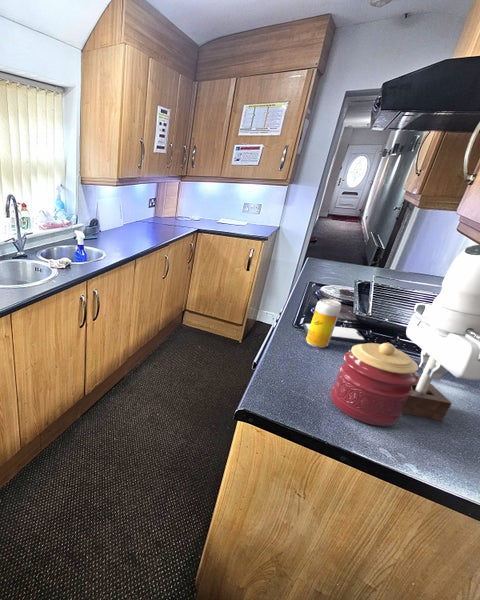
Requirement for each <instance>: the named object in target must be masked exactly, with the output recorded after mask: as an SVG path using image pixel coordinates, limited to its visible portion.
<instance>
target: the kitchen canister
mask: <svg viewBox="0 0 480 600" xmlns="http://www.w3.org/2000/svg"><path fill="white" fill-rule="evenodd" d="M350 350H351V351H349V352H348V351H347V352H346V353H344V355H343V361H344V363H342V364H340V365H339V367H338V373H337V376H336V378H335V380H334V383H333V385H332V386H331V388H330V394H329V395H330V396H329V397H330V401H331V402H332V403H333V405H334V406H335V407H336V408H337V409H338V410H339V411H341V412H342V413H344V414H345V415H346V416H349V417H350V418H353V419H355V420H357V421H359V422H363V423H364V424H365V423H366V424H367V425H374V426H380V427H388V426H392V425H395V423H397V421H398V420H400V419H401V416H402V415H403V413H402V410H403V408H404V406H405V404H406V402H407V400H408V398H409V396H410V395H411V394H412V392H413V389H412V385H414V384H416V383H417V382H418V381H419V377H420V375H419V374H418V372H417V371H418V370H419V365H418V363H417V362H416V360H414V359H412V358H411V357H410V356H409V355H408V354H407V353H405V352H404V351H402V350H400V349H397V348H396V347H395V345H393V344H392V343H390V342H383V343H373V342H367V343H357V344H355V345H353V346H352V347H351V349H350Z"/></svg>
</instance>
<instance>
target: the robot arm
mask: <svg viewBox="0 0 480 600" xmlns="http://www.w3.org/2000/svg"><path fill="white" fill-rule="evenodd" d="M413 311H414V313H413V314H411V317H410V320H409V322H408V324H407V326H406V330H405V335H406V338H407V339H409V340H410V341H412V342H413V343H414V344H415V345H417V346H418V347H419V348H420V349H421V350H420V351H421V352H420V363H419V365H418V369H420V370H421V371H422V372H423V371H424V369H425V366H426V364H427V362H428V360H429V357H430V356H431V357H432V358H433V359H435V360H436V361H437V362H436V364H435V365H436V367H435V368H434V369H430V368H429V370H428V372H427V375H428V376H429V377H430V378H432V380H437V381H439V380H441V379H442V377H443V375H444V374H446V373H448V372H449V373H450V374H451V375H453V376H454V377H455V378H457V379H460V380H466V381H471V382H478V381H480V244H474V245H471V246H468V247H465V248H463V250H462V251H461V252H460V253H459V254H458V255H457V256H456V257H455V258H454V260H453V262H452V263H451V265H450V266H449V268H448V270H447V272H446V273H445V276H444V278H443V280H442V282H441V290H440V292H439V294H437V296H436V297H435V298H434V299H433V301H432V303H424V302H416V303H415V305H414V307H413Z"/></svg>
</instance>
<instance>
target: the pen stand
mask: <svg viewBox="0 0 480 600" xmlns="http://www.w3.org/2000/svg"><path fill="white" fill-rule="evenodd" d="M417 384H418V382H417V383H416V384H414V385H412V389H413V392H412V394H411V395H410V396H409V398H408V400H407V402H406V404H405V406H404V408H403V410H402V414H406V415H411V416H415V417H419V418H420V417H421V418H426V419H430V420H436V421H441V422H443V420H444V418H445V416H446V414H447V413H448V411H449V410H450V408H451V406H452V404H453V403H452V402H451V401H450V400H449V399H448V398H447V397H446V396H445V395H444V394H443V393H441V391H439V390H438V388H436V387H435V386H434V385H433V384H432V383H430V385H429V387H428V389H427V392H426V394H421V393H416V392H415V389H416V387H417Z"/></svg>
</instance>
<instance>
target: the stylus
mask: <svg viewBox="0 0 480 600" xmlns="http://www.w3.org/2000/svg"><path fill="white" fill-rule="evenodd" d="M436 362H437V361H436V360H435V359H433V358H432V357H431V356H430V357H429V360H428V362H427V364H426V366H425V369H424V371H423V370H422V373H421V375H420V380H419V382H418V384H417V387H416V389H415V392H416V393H421V394H426V392H427V389H428V387H429V385H430V384H432V381H433V379H432V378H430V377H429V376H428V375H427V372H428V370H429V368H430V369H434V368H435V367H436V365H435V364H436Z"/></svg>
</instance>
